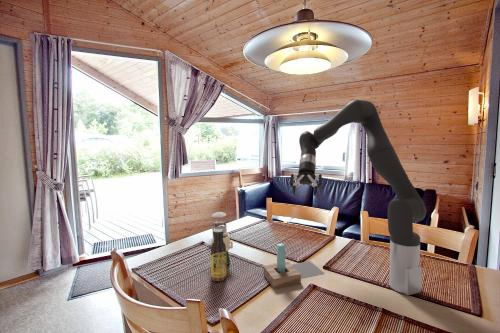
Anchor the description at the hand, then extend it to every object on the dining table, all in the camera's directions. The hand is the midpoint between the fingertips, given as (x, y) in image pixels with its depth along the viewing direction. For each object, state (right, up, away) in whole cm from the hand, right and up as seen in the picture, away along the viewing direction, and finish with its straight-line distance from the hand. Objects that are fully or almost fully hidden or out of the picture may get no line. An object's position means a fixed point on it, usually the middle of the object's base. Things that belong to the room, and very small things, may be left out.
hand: (304, 194), depth 118 cm
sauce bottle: (-36, -33, -9) cm, 50 cm away
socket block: (-11, -32, -11) cm, 36 cm away
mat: (-1, -31, -4) cm, 31 cm away
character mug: (-36, -32, +4) cm, 48 cm away
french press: (-41, -28, +34) cm, 61 cm away
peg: (-11, -32, -11) cm, 36 cm away
